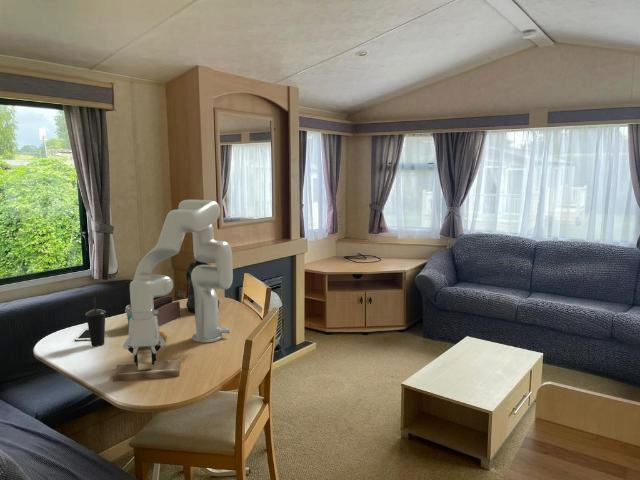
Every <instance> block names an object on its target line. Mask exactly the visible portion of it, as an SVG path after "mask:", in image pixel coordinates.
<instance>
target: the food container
mask: <svg viewBox="0 0 640 480" xmlns="http://www.w3.org/2000/svg"><path fill="white" fill-rule="evenodd" d="M124 313H125V314H126V318H127V323H128V324H127V325H128V326H129V321H130V318H131V317H132V316H131V304H128V305H126V306H125V309H124Z"/></svg>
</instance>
